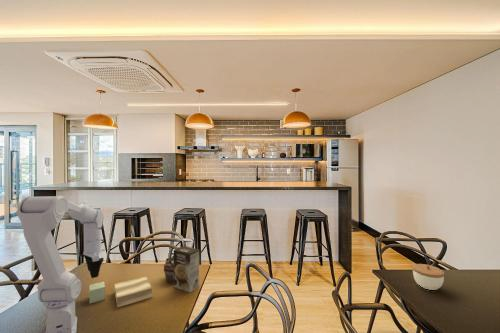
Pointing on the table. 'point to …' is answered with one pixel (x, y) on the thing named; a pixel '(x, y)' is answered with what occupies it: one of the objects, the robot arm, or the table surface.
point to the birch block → (132, 291)
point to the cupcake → (169, 269)
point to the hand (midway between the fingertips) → (93, 273)
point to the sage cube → (97, 292)
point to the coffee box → (186, 268)
